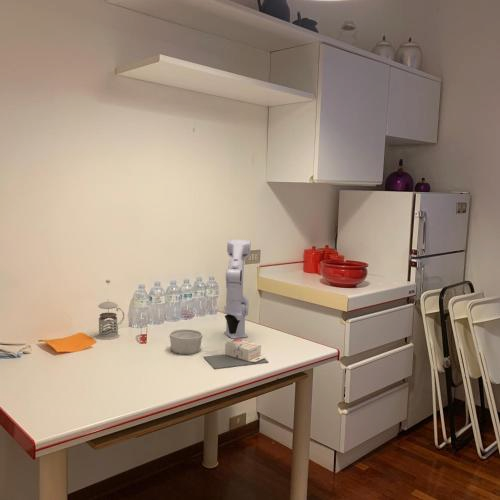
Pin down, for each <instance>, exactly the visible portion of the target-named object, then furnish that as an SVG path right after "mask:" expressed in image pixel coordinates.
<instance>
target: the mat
mask: <svg viewBox="0 0 500 500" xmlns="http://www.w3.org/2000/svg"><path fill="white" fill-rule="evenodd" d="M260 356H262V355H261V354H260ZM203 359H204V360H205V361H206V362H207V363H208V364H209V365H210V366H211V367H212V368H213V369H214V370H221V369H228V368H235V367H245V366H252V365H259V364H260V365H263V364H268V363H270V362H269V360H267V359H266V358H264V359H262V360H259V361H257V362H250V361H246V360H242V359H239V358H235V357H232V356H228V355H225V353H223V354H213V355H204V356H203ZM259 359H260V358H259ZM256 360H257V359H256Z"/></svg>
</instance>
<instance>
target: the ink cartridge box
mask: <svg viewBox="0 0 500 500" xmlns="http://www.w3.org/2000/svg"><path fill="white" fill-rule="evenodd" d="M261 348H262V345H261V344H260V343H255V342H252V341H249V340H243V339H242V338H235V339H234V340H230V341H227V342H225V343H224V354H225V355H228V356H232V357H235V358H239V359H242V360H246V361H250V362H257V361H259V360H262V359H264V358H265V359H266V358H267V356H263V355H261V350H262V349H261ZM260 355H261V356H260ZM259 358H260V359H259ZM256 359H257V360H256Z"/></svg>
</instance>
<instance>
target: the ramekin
mask: <svg viewBox="0 0 500 500" xmlns="http://www.w3.org/2000/svg"><path fill="white" fill-rule="evenodd" d="M169 340H170V348H171V351H172V352H174V353H175V354H179V355H194V354H196V353H199V351H200V350H201V346H202V340H203V332H201V331H200V330H195V329H191V328H190V329H189V328H187V329H186V328H183V329H182V328H181V329H175V330H172V331H170V332H169Z"/></svg>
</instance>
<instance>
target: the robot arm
mask: <svg viewBox="0 0 500 500" xmlns="http://www.w3.org/2000/svg"><path fill="white" fill-rule="evenodd" d="M226 244H227V246H226V251H227V255H228V257H231V259H230V260H229V261H228V269H227V270H226V271H225V288H226V293H225V294H226V297H225V298H226V299H225V304H226V305H225V306H224V307H223V309H224V310H223V311H222V313H223V314H225V315H224V318H225V320H226V321H225V322H226V324H225V325H226V329H225V331H223V333H224V334H225V335H226V336H228V337H229V338H231V339H242V338H248V337H249V336H248V335H247V334H246V333H245V332H246V331H245V330H246V329H245V328H246V317H247V316H248V315H249V308H250V307H249V304H250V303H249V298H248V297H247V296H246V295H244V294H243V293H244V291H243V290H244V270H245V266H244V265H245V260H246V259H247V258H249V257H250V255H251V244H252V243H251V240H250V239H233V238H232V239H231V238H229V239H227V243H226Z"/></svg>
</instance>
